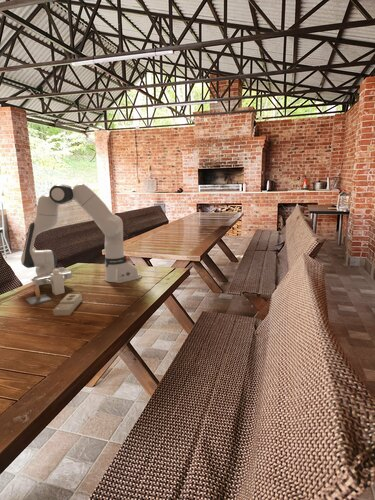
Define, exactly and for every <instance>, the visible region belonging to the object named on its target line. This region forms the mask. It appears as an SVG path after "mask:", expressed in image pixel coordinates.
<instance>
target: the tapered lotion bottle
mask: <svg viewBox="0 0 375 500" xmlns="http://www.w3.org/2000/svg"><path fill="white" fill-rule="evenodd" d="M50 277H51V280H53V284H50V285H51V291H52V294H53V295H55V296H57V295H61V294H65V293H66V292H65V283H64V282H65V281H63V274H62V273H61V272H59V269H55V270H53V273H51V274H50Z"/></svg>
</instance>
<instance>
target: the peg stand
mask: <svg viewBox="0 0 375 500" xmlns="http://www.w3.org/2000/svg"><path fill="white" fill-rule="evenodd" d="M34 292H35V296H32V297H27V298H25V302H27V303H28V304H29V305H30V307H31V306H36V305H40V304H43V303H47V302H51V301H53V299H52V298H51V297H50V296H49V295H48V294H47V293H43V294H41V292H40V285H37V286H36V285H34Z"/></svg>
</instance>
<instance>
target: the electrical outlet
mask: <svg viewBox="0 0 375 500" xmlns="http://www.w3.org/2000/svg"><path fill="white" fill-rule="evenodd" d="M82 301H83V297H82V293H68V294H66V295H65V296H64V297H63V298H62V299H61V300H60V301H59V304H57V305H56V307H55V308H53V309H52V311H53V316H71V314H72V313H73V312H74V311H75V309H76V308H77V307H78V306H79V305H80V303H82Z"/></svg>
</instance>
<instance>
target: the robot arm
mask: <svg viewBox="0 0 375 500" xmlns="http://www.w3.org/2000/svg"><path fill="white" fill-rule="evenodd" d="M73 201H74V202H76V203H77V204H78V205H79V206H80V207H81V208H82V209H83V210H84V211H85V212H86V214H88V215H89V217H91V219H92V220H93V222H94V223H95V224H96V225H97V227H98V228H99V229H100V231H101V232H102V233H103V235H104V254H105V257H104V265H105V275H104V281H105V282H107V283H108V282H109V283H115V284H122V283H127V282H130V281H131V282H132V281H134V280H139V279H140V280H141V278H143V277H142V274H141V273H140V272H138V269H137V267H136V265H134V264H133V263H132V262H129V261H130V257H128V256H127V255H125V254H124V253H125V252H124V223H123V219H122V218H121V217H120V216H118V215H117V214H113V212H111V210H110V209H109V208H108V206H107V205H106V203H105V202H104V201H103V200H102V199H101V198H100V197H99V196H98V195H97V194H96V193H95V192H94V191H93V190H92V189H90V187H88V186H87V185H86V184H85V183H77V184H76V185H74V186H70V185H68V184H64V183H60V184H54V185H53V186H52V187H51V188H50V189H49V194H43V195H41V196H39V198H38V201H37V205H36V216H35V219H34V220H33V222H31V223H30V224H29V225H28V230H27V233H26V237H25V241H24V248H23V250H22V254H21V258H20V261H21V265H22V266H24V267H25V268H27V269H31V268H35V274H36V276H34V277H33V278H32V279H31V280H30V281H32V282H33V284H34V286H37V285H39V286H42V285H47V284H49V285H51V284H53V280H51V277H50V274H51V273H53V270H55V269H59V272H61V273H62V274H63V282H65V281H66V280H69V279H71V280H72V279H73V272H72V271H71V270H69V269H67V268H65V267H57V263H58V257H57V255H56V253H55V252H54V250H52V249H42V250H41V249H40V250H37V249H36V250H34V245H35V241H36V237H37V236H38V235H40V234H41V233H44V232H47V231H50V230H52V229H53V228H54V227H55V226H56V225H57V223H58V209H59V206H60V205H65V204H69V203H72V202H73Z"/></svg>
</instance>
